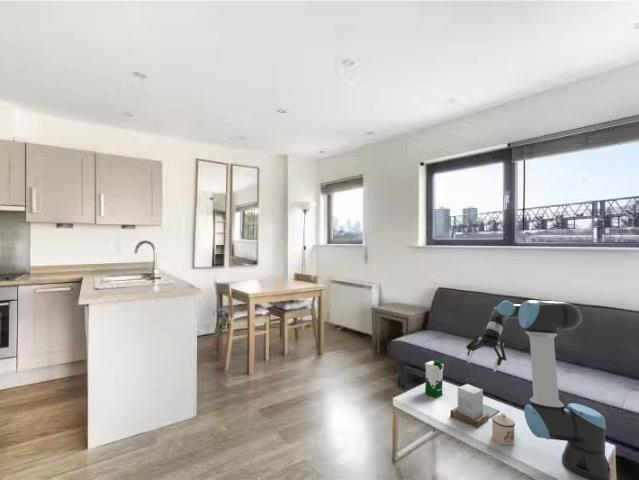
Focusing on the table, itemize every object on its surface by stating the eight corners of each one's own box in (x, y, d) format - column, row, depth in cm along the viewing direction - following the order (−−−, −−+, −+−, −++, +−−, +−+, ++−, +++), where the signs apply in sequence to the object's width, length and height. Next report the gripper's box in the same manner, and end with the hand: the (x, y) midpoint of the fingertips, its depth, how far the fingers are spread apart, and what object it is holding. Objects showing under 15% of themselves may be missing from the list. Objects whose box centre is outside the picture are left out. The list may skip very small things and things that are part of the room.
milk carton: (436, 399, 188) (437, 363, 188) (422, 393, 195) (423, 359, 195) (444, 395, 193) (445, 360, 193) (431, 389, 200) (431, 356, 201)
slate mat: (489, 418, 168) (489, 417, 168) (466, 408, 177) (466, 407, 177) (499, 411, 175) (499, 410, 175) (477, 402, 185) (477, 401, 185)
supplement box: (466, 412, 174) (466, 383, 174) (483, 419, 167) (483, 389, 167) (456, 416, 168) (457, 387, 169) (473, 424, 161) (474, 393, 162)
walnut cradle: (476, 428, 158) (476, 421, 158) (450, 416, 169) (450, 410, 169) (488, 420, 166) (488, 414, 166) (462, 409, 176) (462, 404, 176)
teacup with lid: (507, 448, 142) (507, 421, 143) (487, 437, 150) (487, 412, 150) (522, 440, 149) (522, 414, 149) (502, 430, 156) (502, 406, 157)
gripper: (519, 341, 176) (508, 377, 167) (472, 330, 195) (459, 362, 186) (516, 333, 173) (504, 370, 163) (468, 323, 191) (455, 355, 182)
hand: (480, 366), depth 174 cm, fingers open, 13 cm apart
